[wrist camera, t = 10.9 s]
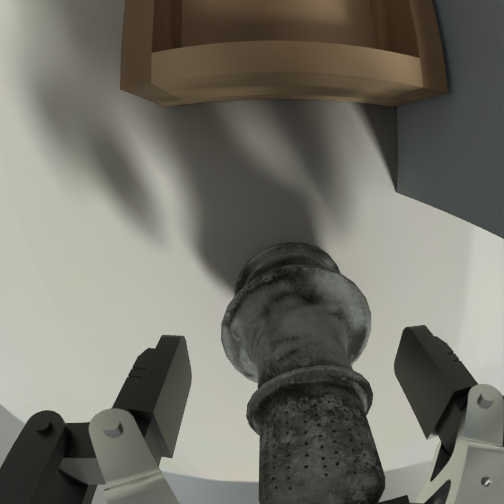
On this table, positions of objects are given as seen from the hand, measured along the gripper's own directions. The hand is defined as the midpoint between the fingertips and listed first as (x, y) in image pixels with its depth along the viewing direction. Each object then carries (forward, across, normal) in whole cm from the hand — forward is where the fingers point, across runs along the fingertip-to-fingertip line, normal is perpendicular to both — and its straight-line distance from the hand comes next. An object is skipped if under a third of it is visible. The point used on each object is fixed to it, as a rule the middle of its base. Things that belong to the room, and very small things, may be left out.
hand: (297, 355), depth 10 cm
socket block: (+5, 0, -14) cm, 15 cm away
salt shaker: (+5, 0, 0) cm, 5 cm away
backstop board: (+5, -6, -14) cm, 16 cm away
